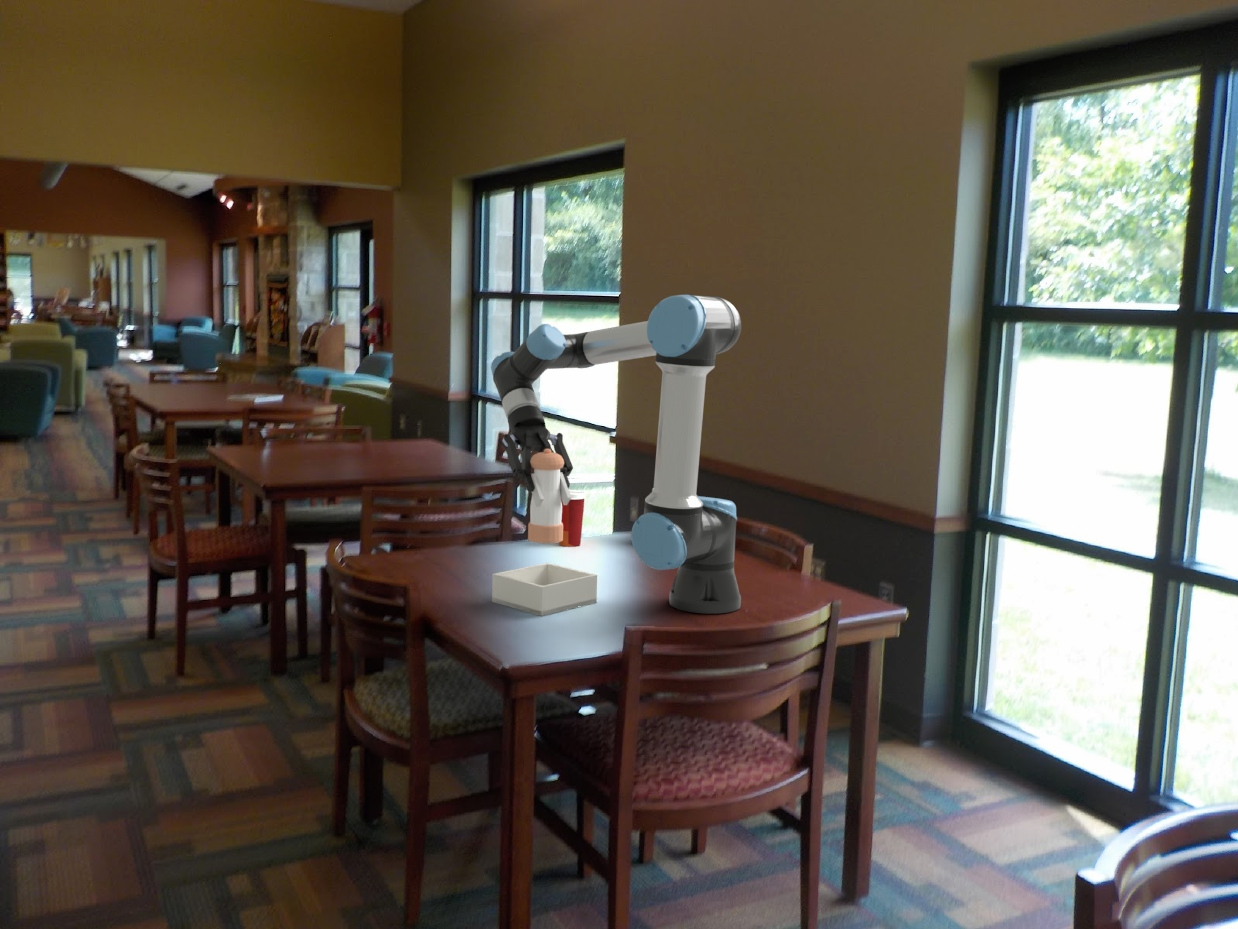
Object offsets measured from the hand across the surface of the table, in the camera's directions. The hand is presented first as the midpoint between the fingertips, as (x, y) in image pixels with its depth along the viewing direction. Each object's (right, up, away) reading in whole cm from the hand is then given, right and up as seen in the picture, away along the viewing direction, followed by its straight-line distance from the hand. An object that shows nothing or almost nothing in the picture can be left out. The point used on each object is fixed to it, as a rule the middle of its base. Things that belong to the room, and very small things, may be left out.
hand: (553, 502), depth 232 cm
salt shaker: (-2, -8, +5) cm, 10 cm away
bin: (-2, -21, +6) cm, 22 cm away
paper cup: (0, -14, +65) cm, 67 cm away
